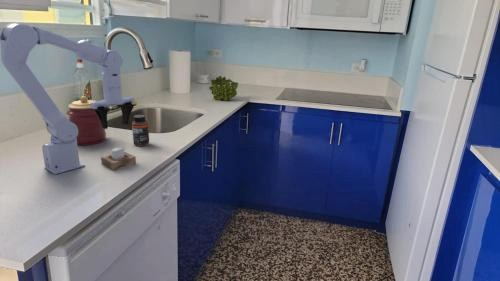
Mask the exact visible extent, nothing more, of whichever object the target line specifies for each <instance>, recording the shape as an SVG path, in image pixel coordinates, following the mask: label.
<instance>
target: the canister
mask: <svg viewBox="0 0 500 281" xmlns="http://www.w3.org/2000/svg"><path fill="white" fill-rule="evenodd" d="M96 101H97V100H94V99H93V100H92V99H88V97H87V96H85V95H82V96H80V98H79V100H75V101H72V102H71V103H70V104H68V106H67V107H68V110H67V111H66V114H67V116H68V118H67V119H68V120H69V121H70V122H72V123H74V124H75V125H76V126H77V128H78V135H77V137H76V139H77V146H78V145H79V146H89V145H97V144H99V143H102V142H104V141H105V140H106V137H107V133H106V132H107V131H106V129H104V128H103V127H102V124H101V121H100V119H99V117H98V115H97V114H96V112H95V111H94V109H93V108H91V102H96Z"/></svg>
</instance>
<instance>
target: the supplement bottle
mask: <svg viewBox="0 0 500 281" xmlns="http://www.w3.org/2000/svg"><path fill="white" fill-rule="evenodd" d="M131 129H132V141H133V143H132V144H133V145H134V146H137V147H143V146H148V145H149V144H150V133H149V131H150V130H149V122H148V121H147V120H146V115H144V114H135V115H134V116H133V121H132V122H131Z"/></svg>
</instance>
